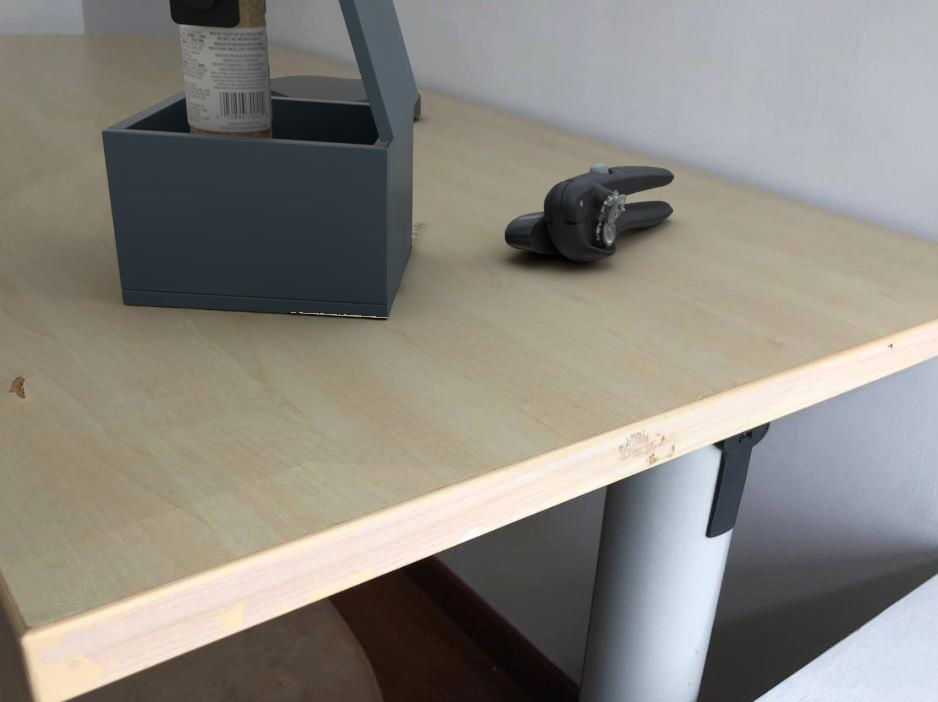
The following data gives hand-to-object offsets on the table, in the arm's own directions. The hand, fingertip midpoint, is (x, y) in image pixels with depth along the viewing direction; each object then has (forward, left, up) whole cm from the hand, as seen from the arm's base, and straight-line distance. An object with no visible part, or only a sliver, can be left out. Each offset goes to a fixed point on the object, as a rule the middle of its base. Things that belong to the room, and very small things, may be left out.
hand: (221, 16), depth 50 cm
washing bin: (+2, 0, -14) cm, 14 cm away
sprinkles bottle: (0, 0, -9) cm, 9 cm away
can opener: (+22, +11, -14) cm, 28 cm away
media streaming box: (-3, +51, -14) cm, 52 cm away
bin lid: (+7, 0, +2) cm, 7 cm away
